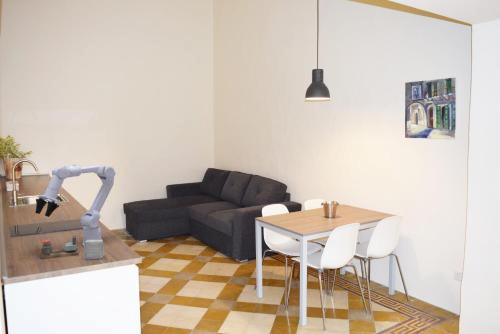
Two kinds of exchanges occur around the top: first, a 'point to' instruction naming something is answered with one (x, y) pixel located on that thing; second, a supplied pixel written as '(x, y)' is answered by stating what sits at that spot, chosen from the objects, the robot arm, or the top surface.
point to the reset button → (46, 241)
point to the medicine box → (93, 249)
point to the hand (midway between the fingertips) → (42, 215)
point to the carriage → (71, 244)
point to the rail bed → (56, 252)
